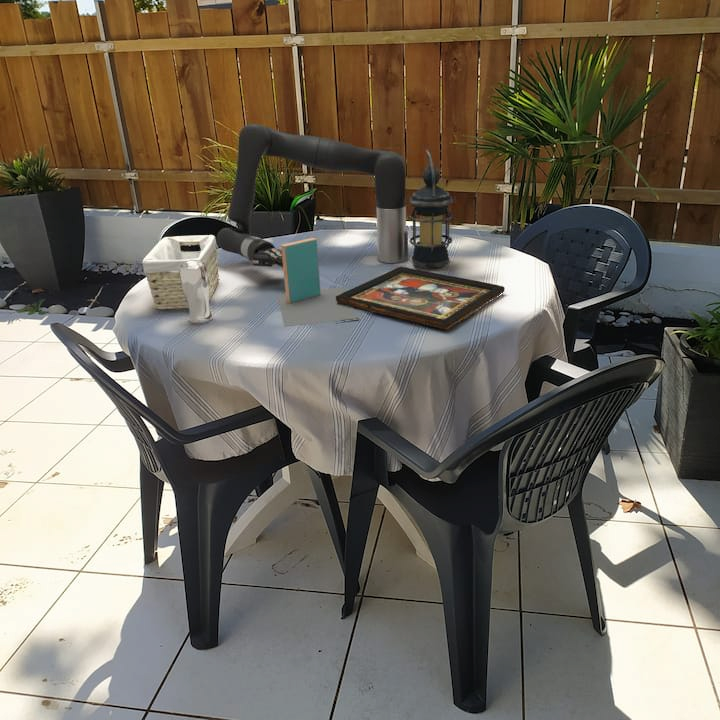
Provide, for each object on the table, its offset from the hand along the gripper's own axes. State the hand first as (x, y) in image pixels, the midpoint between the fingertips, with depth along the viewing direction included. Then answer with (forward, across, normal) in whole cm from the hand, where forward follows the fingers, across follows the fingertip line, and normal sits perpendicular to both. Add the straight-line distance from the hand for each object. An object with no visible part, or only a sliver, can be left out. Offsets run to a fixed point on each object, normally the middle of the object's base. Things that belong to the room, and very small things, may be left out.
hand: (286, 263), depth 184 cm
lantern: (+8, +46, +9) cm, 48 cm away
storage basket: (-18, -23, +9) cm, 31 cm away
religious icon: (+29, +24, +8) cm, 39 cm away
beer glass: (+2, -28, +9) cm, 29 cm away
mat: (+15, 0, +9) cm, 17 cm away
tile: (+8, 0, +8) cm, 11 cm away
